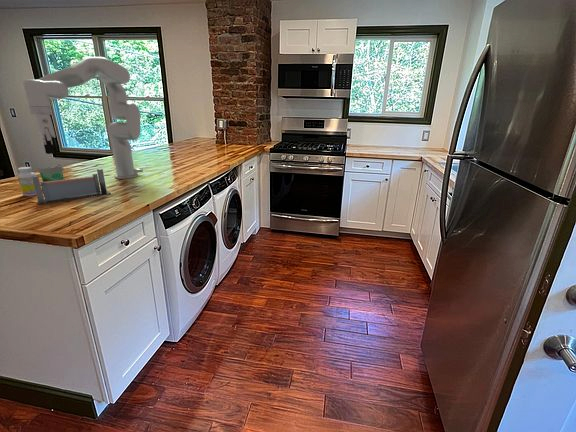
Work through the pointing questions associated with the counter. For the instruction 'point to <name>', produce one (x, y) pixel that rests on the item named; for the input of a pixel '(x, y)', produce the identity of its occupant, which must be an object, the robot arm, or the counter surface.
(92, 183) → the gate
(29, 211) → the counter surface
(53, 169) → the food container
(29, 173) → the supplement bottle
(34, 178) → the gate frame
